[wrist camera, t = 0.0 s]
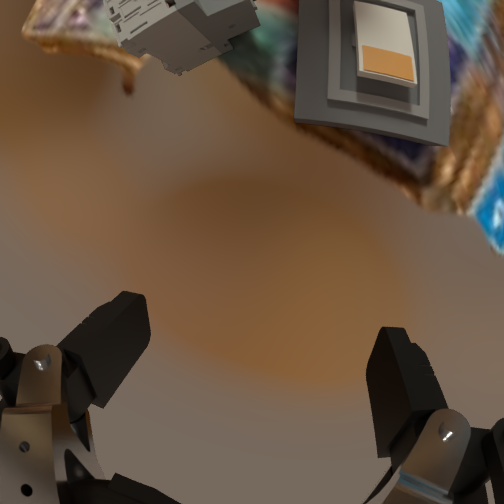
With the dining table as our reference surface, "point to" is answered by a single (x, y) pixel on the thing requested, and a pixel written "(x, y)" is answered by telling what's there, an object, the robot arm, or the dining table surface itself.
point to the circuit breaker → (180, 28)
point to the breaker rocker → (384, 44)
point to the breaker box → (366, 89)
